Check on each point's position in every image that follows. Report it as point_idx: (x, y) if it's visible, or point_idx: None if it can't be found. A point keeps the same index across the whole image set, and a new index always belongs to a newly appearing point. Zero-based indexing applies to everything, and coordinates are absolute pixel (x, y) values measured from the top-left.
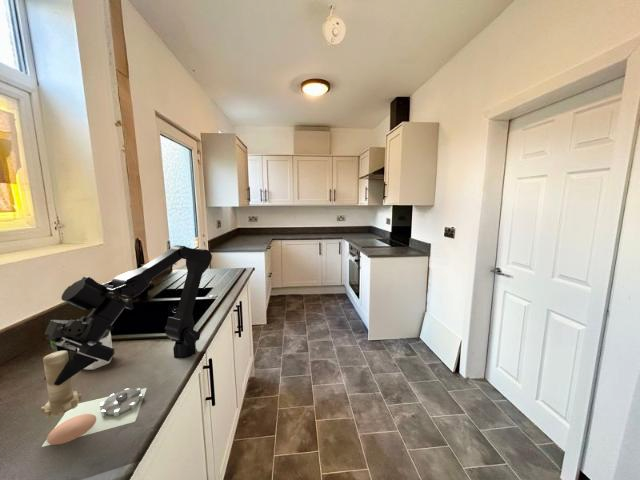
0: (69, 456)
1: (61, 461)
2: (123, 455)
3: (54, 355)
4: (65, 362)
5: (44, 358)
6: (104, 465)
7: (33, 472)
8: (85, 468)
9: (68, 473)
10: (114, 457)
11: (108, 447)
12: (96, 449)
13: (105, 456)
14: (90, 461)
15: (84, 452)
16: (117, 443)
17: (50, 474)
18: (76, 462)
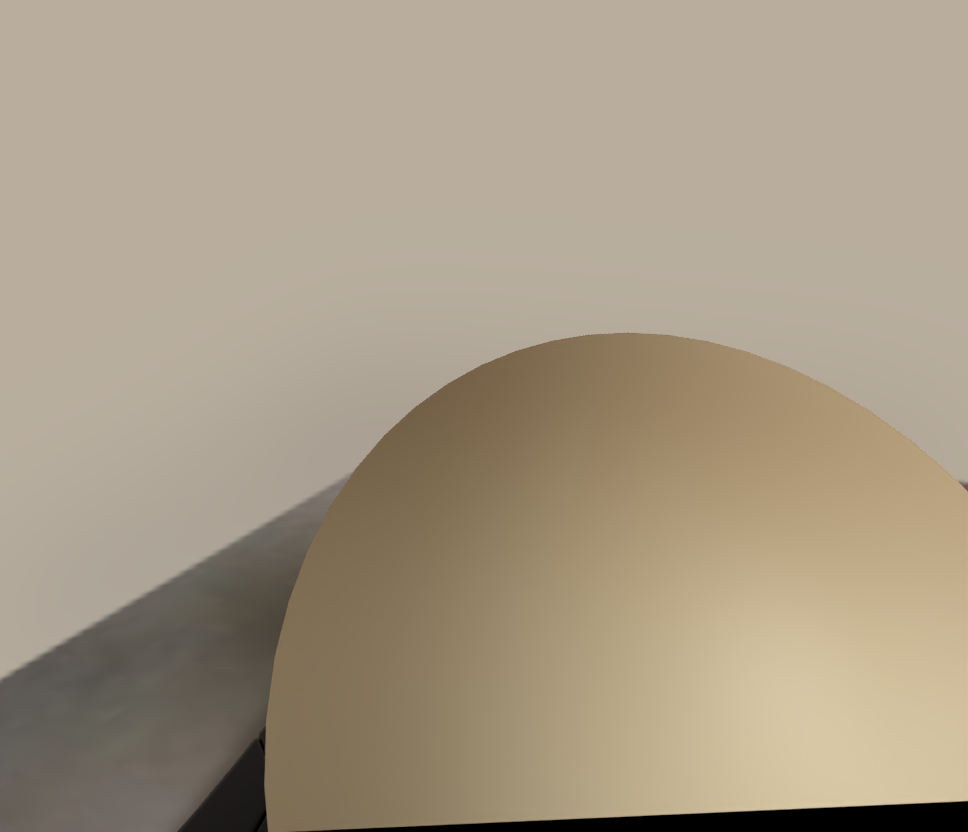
0: (282, 603)
1: (286, 573)
2: (4, 786)
3: (688, 624)
4: (400, 827)
5: (671, 360)
6: (56, 692)
7: (332, 492)
8: (135, 628)
9: (185, 575)
10: (46, 746)
11: (143, 753)
12: (196, 703)
13: (102, 717)
14: (150, 657)
15: (237, 656)
16: (117, 801)
17: (255, 529)
18: (212, 613)
